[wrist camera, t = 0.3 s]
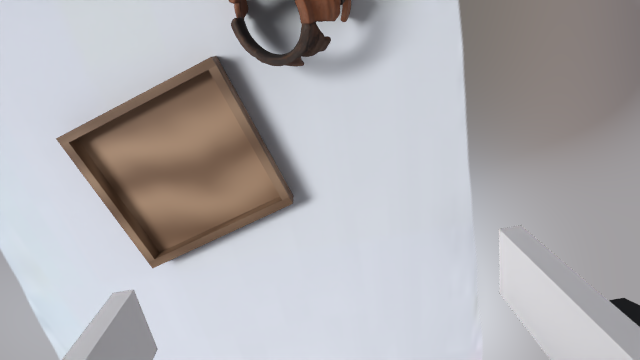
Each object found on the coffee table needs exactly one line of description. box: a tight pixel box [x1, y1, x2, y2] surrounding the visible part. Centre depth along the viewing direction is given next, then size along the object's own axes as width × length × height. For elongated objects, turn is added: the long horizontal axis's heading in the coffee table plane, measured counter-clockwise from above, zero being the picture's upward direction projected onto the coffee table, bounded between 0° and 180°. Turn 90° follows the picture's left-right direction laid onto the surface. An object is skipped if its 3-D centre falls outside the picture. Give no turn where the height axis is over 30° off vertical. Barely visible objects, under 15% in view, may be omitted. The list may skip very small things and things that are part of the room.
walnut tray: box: [56, 56, 293, 268], centre depth 38 cm, size 16×17×2 cm
